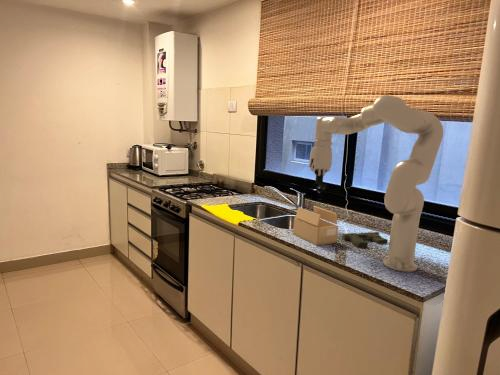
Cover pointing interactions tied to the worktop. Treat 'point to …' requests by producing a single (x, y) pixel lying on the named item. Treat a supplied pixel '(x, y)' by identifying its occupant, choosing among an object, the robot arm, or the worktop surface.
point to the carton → (316, 231)
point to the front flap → (308, 216)
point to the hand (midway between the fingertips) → (318, 183)
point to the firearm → (364, 238)
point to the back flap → (326, 214)
